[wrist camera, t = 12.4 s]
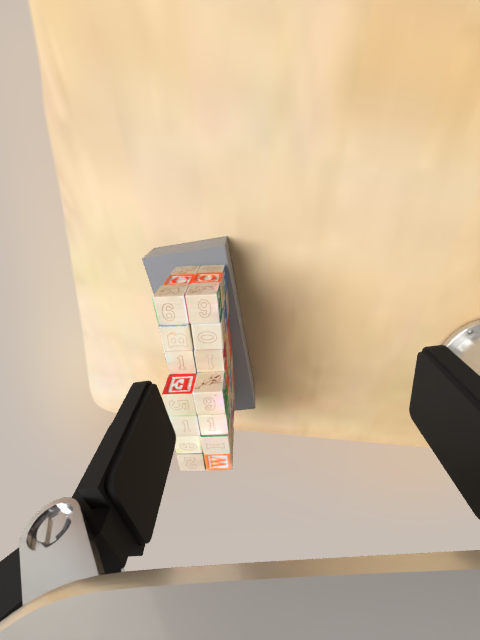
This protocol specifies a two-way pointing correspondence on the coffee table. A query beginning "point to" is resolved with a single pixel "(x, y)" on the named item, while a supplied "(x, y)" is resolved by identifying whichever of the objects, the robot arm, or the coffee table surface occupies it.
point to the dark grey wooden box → (218, 253)
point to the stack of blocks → (198, 365)
